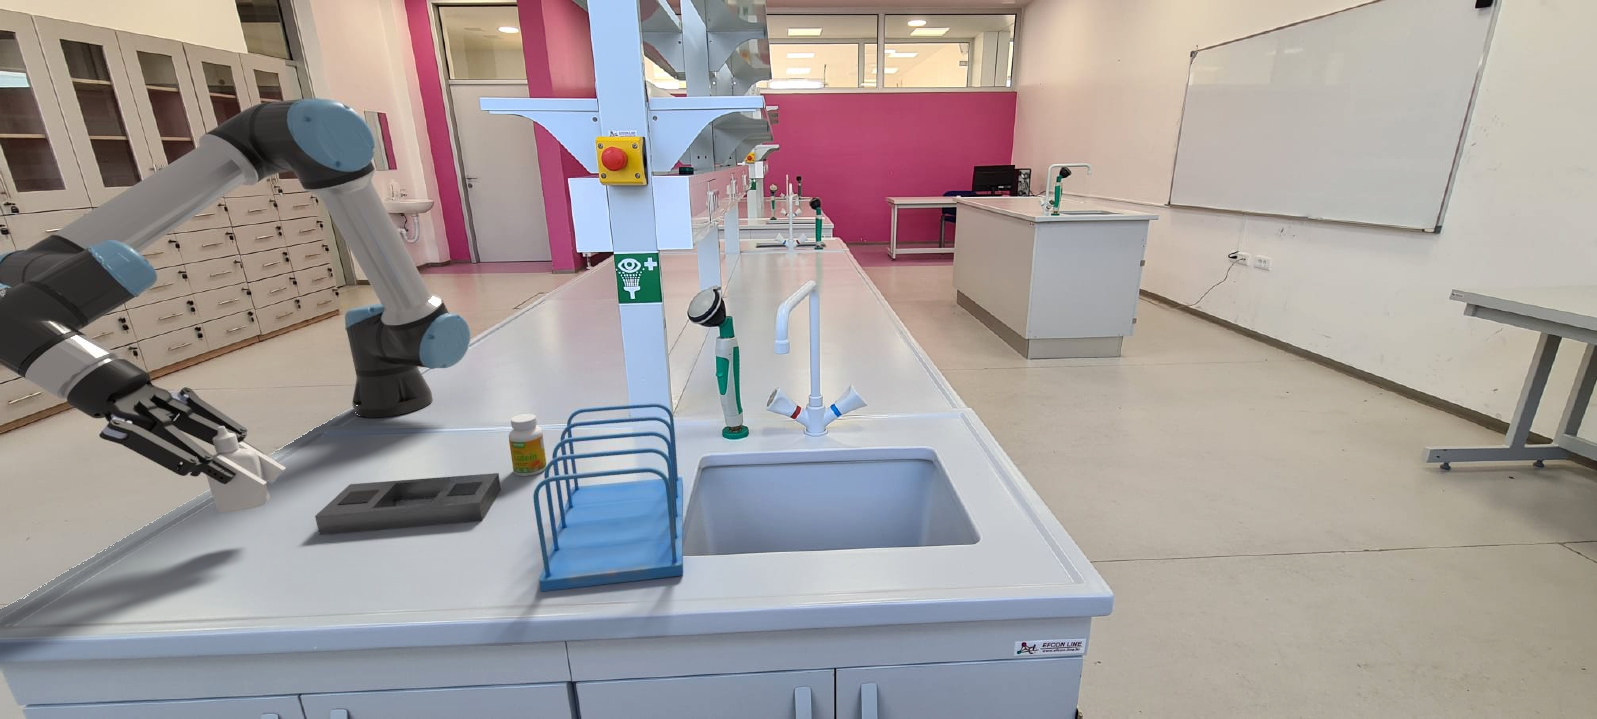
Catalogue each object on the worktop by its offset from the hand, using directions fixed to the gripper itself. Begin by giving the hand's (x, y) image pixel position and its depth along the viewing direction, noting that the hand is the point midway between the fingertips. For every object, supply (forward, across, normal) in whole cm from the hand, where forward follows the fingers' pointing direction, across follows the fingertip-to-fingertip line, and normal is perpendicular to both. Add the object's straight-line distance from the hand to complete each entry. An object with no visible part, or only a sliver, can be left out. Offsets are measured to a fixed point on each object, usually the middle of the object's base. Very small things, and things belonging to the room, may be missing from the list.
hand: (269, 482), depth 91 cm
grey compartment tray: (+17, -4, +6) cm, 19 cm away
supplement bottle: (+28, -16, +15) cm, 35 cm away
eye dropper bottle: (0, 0, -5) cm, 5 cm away
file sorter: (+40, +8, +28) cm, 49 cm away
